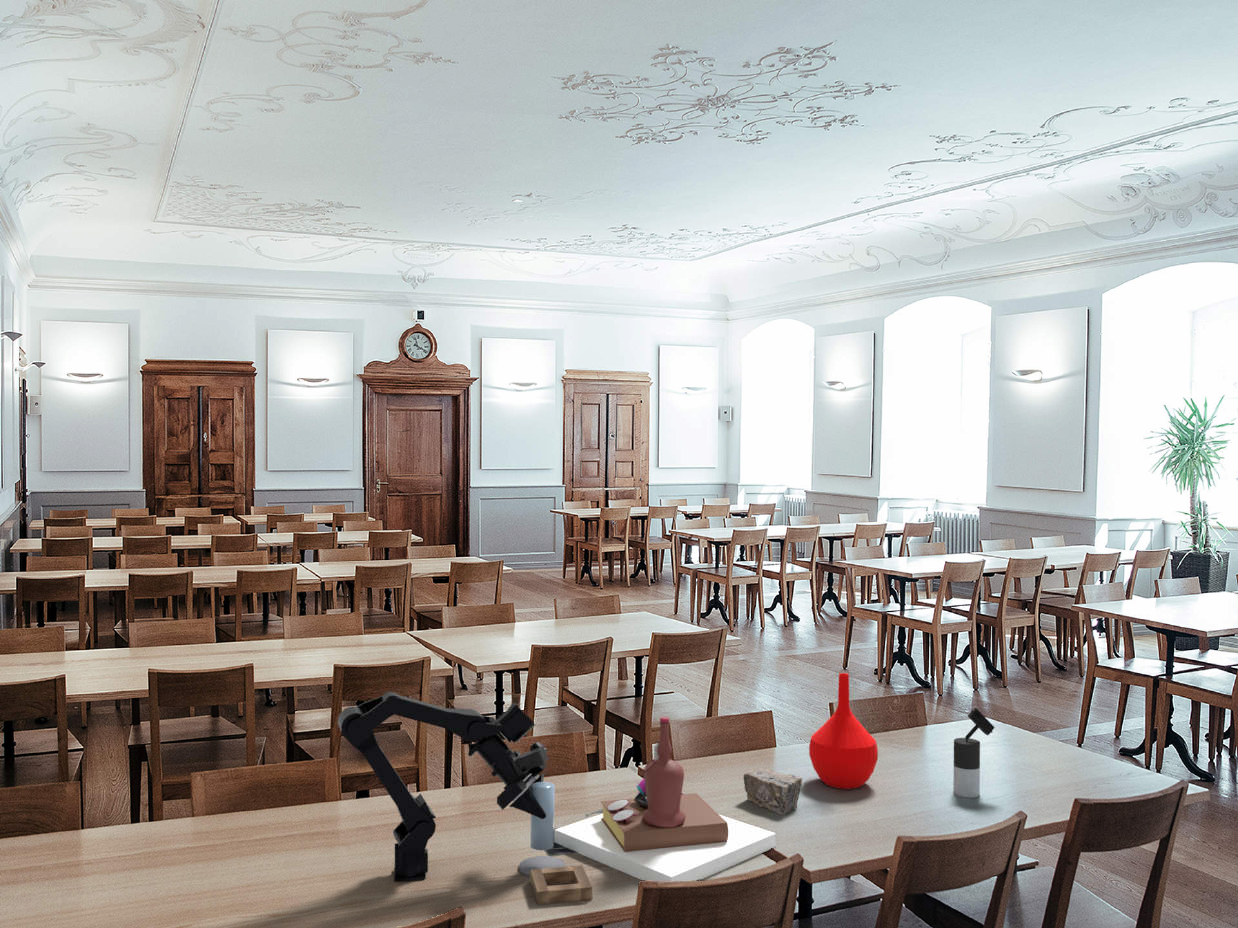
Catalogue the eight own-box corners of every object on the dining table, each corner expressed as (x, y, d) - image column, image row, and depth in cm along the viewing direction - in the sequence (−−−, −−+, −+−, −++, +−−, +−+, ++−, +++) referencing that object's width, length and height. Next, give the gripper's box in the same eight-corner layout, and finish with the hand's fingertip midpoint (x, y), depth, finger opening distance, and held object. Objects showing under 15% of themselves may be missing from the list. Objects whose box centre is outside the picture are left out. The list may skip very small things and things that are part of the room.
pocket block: (537, 904, 201) (537, 891, 201) (530, 881, 212) (530, 869, 212) (592, 899, 203) (592, 886, 203) (582, 877, 214) (582, 865, 214)
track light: (972, 809, 266) (1022, 753, 268) (930, 766, 264) (981, 709, 266) (960, 801, 273) (1009, 746, 275) (918, 758, 270) (968, 703, 273)
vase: (825, 768, 290) (826, 664, 289) (888, 781, 279) (888, 672, 279) (797, 785, 275) (798, 675, 275) (861, 799, 264) (862, 684, 264)
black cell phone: (548, 855, 225) (534, 830, 240) (548, 859, 225) (534, 834, 240) (581, 851, 228) (564, 827, 242) (581, 855, 228) (564, 830, 242)
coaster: (522, 878, 213) (522, 876, 213) (516, 860, 223) (516, 857, 223) (569, 875, 215) (569, 872, 215) (561, 856, 225) (561, 854, 225)
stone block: (807, 808, 258) (807, 777, 258) (784, 816, 252) (785, 785, 252) (763, 793, 268) (763, 765, 268) (741, 801, 262) (741, 771, 262)
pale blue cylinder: (532, 850, 216) (532, 789, 216) (529, 841, 221) (529, 782, 221) (555, 849, 217) (556, 788, 217) (551, 840, 222) (552, 781, 222)
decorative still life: (648, 804, 260) (649, 684, 260) (775, 848, 232) (776, 713, 231) (544, 840, 236) (545, 707, 236) (671, 893, 207) (672, 743, 207)
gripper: (512, 745, 210) (562, 803, 208) (538, 722, 229) (585, 775, 226) (475, 780, 212) (525, 838, 210) (504, 755, 230) (551, 807, 228)
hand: (548, 813), depth 219 cm, fingers closed on pale blue cylinder, 5 cm apart
